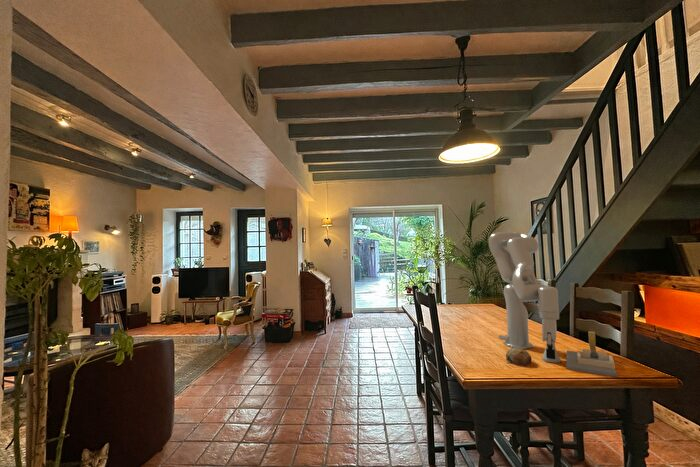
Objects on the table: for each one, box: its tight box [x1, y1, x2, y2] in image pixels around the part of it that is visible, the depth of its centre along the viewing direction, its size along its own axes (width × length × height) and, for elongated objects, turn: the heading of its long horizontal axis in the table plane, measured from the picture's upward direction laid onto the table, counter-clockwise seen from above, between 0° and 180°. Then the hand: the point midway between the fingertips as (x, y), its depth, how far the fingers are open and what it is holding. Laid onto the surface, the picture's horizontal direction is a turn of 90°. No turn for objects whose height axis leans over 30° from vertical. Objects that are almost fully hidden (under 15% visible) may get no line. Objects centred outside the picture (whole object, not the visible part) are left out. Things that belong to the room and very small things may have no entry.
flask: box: [541, 339, 562, 364], centre depth 140 cm, size 7×7×10 cm
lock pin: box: [587, 330, 598, 358], centre depth 145 cm, size 2×14×8 cm, turn 145°
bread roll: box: [505, 347, 532, 367], centre depth 139 cm, size 10×10×8 cm
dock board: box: [565, 348, 618, 378], centre depth 135 cm, size 16×24×4 cm, turn 145°
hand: (551, 356), depth 140 cm, fingers closed on flask, 4 cm apart
